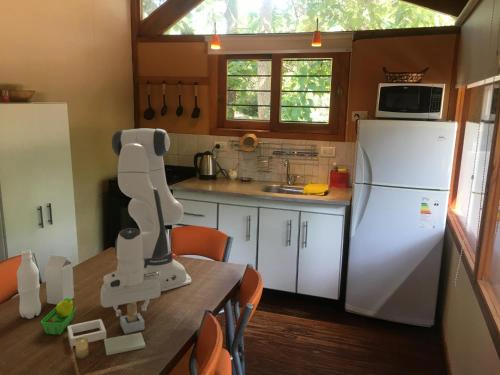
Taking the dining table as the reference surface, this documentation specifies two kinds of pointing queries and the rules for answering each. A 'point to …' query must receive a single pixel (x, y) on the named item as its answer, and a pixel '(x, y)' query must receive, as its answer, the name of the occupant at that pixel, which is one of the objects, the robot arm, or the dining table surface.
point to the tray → (84, 327)
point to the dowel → (132, 312)
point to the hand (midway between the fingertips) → (131, 313)
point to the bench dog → (81, 347)
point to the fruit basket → (59, 317)
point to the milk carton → (59, 279)
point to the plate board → (124, 343)
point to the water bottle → (28, 286)
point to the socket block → (132, 324)
